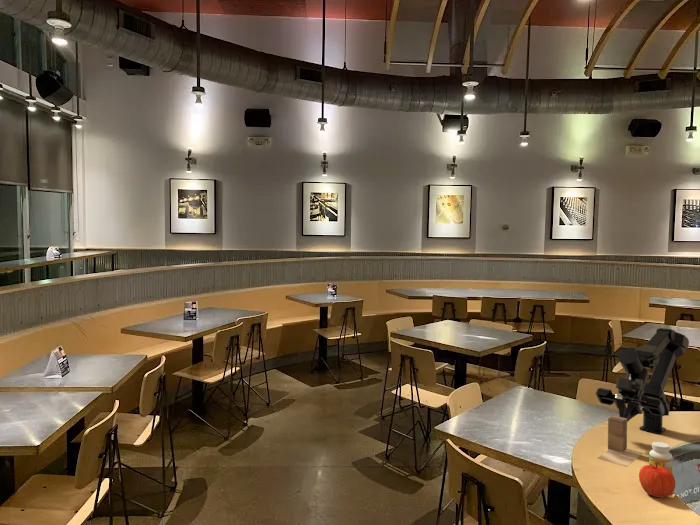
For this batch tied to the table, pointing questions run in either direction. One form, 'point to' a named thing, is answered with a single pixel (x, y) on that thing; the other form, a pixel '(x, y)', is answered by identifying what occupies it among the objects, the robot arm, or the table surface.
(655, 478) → the apple
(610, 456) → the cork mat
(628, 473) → the table surface
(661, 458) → the supplement bottle
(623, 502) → the table surface
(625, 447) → the walnut block
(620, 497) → the table surface
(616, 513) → the table surface
